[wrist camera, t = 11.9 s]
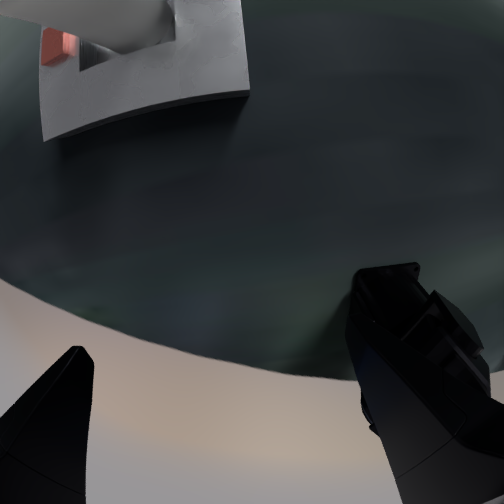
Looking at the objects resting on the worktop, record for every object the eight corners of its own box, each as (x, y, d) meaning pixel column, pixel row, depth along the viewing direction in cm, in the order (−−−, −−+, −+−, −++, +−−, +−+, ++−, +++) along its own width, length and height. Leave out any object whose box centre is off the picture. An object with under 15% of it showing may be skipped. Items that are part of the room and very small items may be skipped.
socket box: (233, -52, 9) (230, -81, 6) (249, 96, 16) (250, 87, 12) (69, -3, 10) (43, -16, 6) (70, 136, 16) (36, 143, 12)
